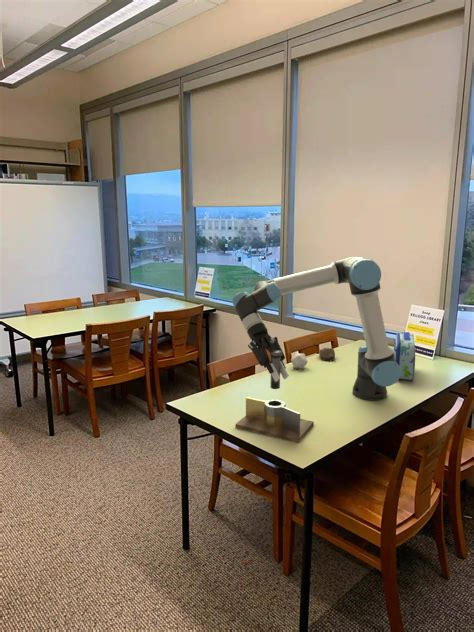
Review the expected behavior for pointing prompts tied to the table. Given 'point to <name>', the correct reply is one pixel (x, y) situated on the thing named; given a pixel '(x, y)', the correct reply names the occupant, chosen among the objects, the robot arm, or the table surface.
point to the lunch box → (405, 354)
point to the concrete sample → (327, 354)
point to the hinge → (273, 414)
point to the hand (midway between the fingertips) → (282, 378)
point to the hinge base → (274, 429)
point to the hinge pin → (276, 362)
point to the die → (299, 360)
